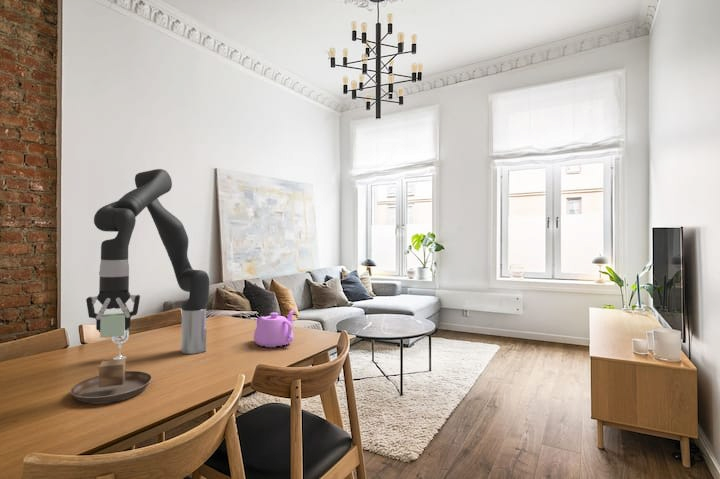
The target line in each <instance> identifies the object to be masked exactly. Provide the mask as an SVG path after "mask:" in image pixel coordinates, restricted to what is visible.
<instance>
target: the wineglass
mask: <svg viewBox="0 0 720 479" xmlns="http://www.w3.org/2000/svg"><path fill="white" fill-rule="evenodd" d="M129 336H130V332H129V329H128V330H126V333H125V335H124V336H116V337H110V338H111V342H113V343H114V344H117V345H118V350H119V352H118V353H119V354H118V355H117V356H115V357H113V359H112V360H118V359H125V360H126V359H127V358H128V357H127V356H126V355H122V353H121V352H122V344H124V343H126V342H127V341H128V340H129Z"/></svg>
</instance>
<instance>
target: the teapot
mask: <svg viewBox="0 0 720 479" xmlns="http://www.w3.org/2000/svg"><path fill="white" fill-rule="evenodd" d="M295 311H296V310H295V309H292V310H291V311H289V312H288V315H287V318H286V317H285V316H282V315H279V313H278V312H270V313H269V315H267V316H263V315H262V316H259V317H257V320H256V328H255V330H254V333H253V341H254V342H255V343H256V344H257V345H258V346H259V345H260V347H263V346H265V347H264V348H272V347H275V348H277V347H276V346H280V347H283V346H282V345H285V346H287V345H289V344H290V343H292V342H293V341H294V330H293V326H294V325H293V323H294V322H293V315H294V313H295ZM288 343H289V344H288ZM286 344H287V345H286Z"/></svg>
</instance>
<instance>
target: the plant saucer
mask: <svg viewBox="0 0 720 479" xmlns="http://www.w3.org/2000/svg"><path fill="white" fill-rule="evenodd" d="M152 378H153V377H152V374H150V373H148V372H144V371H140V370H138V371H137V370H125V380H124V383H123V385H116V386H108V387H99V375H95V376H92V377H89V378H86V379H84V380H81V381H79V382H77V383H75V385H73V386H72V387H71V389H70V394H71V395H72V396H73V398H75V399H76V400H77V401H79V402H81V403H85V404H91V405H99V404H100V405H101V404H110V403H114V402H120V401H124V400H127V399H131V398H133V397H135V396H137V395H139V394H140V393H142V392H143V391H144V390H145V389H146V388H147V387H148V386H149V384H150V382H151V381H152Z"/></svg>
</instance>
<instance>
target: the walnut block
mask: <svg viewBox="0 0 720 479" xmlns="http://www.w3.org/2000/svg"><path fill="white" fill-rule="evenodd" d="M125 371H126V358H125V359H118V360H114V359H110V360H102V361H101V363H100V365H99V366H98V376H99V387H108V386H116V385H123V383H124V380H125Z"/></svg>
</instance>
